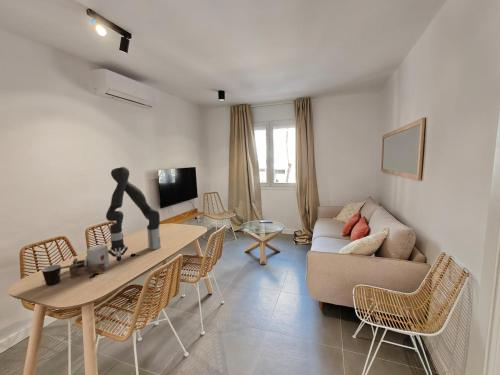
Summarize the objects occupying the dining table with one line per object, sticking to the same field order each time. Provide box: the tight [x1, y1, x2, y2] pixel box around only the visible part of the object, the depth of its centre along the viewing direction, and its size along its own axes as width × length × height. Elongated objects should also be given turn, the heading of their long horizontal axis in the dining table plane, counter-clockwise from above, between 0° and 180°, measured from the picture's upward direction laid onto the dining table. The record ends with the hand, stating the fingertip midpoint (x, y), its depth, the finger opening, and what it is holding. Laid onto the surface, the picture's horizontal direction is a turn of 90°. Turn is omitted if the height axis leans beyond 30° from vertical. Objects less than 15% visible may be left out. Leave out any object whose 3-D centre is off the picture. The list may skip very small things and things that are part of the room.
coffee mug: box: [41, 264, 62, 287], centre depth 133 cm, size 12×9×10 cm
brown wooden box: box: [68, 257, 106, 279], centre depth 151 cm, size 18×15×7 cm
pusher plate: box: [61, 255, 88, 270], centre depth 146 cm, size 18×11×8 cm, turn 118°
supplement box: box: [86, 244, 110, 268], centre depth 153 cm, size 9×9×15 cm
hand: (119, 261), depth 159 cm, fingers closed
